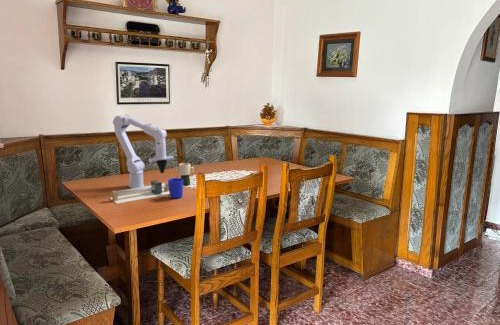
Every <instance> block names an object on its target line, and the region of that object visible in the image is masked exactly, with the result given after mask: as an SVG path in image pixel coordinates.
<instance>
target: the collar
mask: <svg viewBox="0 0 500 325" xmlns="http://www.w3.org/2000/svg"><path fill="white" fill-rule="evenodd" d="M162 184H163V182H160V181H159V180H157V179H155V180H151V181H150V186H151V185H155V190H151V191H152V192H154V193H156V194H160V193H162V189H163V188H162Z"/></svg>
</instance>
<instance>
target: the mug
mask: <svg viewBox="0 0 500 325" xmlns="http://www.w3.org/2000/svg"><path fill="white" fill-rule="evenodd" d="M167 182H168V185H169V193H170V194H169V196H170V198H171V199H176V200H177V199H180V198H182V197H183V193H184V185H183V179H181V177H174V178H173V177H172V178H169V179H168V180H167Z"/></svg>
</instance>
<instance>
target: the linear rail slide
mask: <svg viewBox="0 0 500 325" xmlns="http://www.w3.org/2000/svg"><path fill="white" fill-rule="evenodd" d="M144 186H145V187H138V188H127V189H121V190H111V197H109V199H110V200H111V201H112V202H114V203H115V204H116V205H118V204H124V203H129V202H135V201H141V200H145V199H151V198H156V197H157V198H158V197H162V196H168V195H169V196H170V193H169V185H168V181H167V182H162V193H160V194H156V193H154V192H152V191H151V190H155V185H151V184H150V185H144Z"/></svg>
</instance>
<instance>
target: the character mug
mask: <svg viewBox="0 0 500 325" xmlns="http://www.w3.org/2000/svg"><path fill="white" fill-rule="evenodd" d="M175 171H176V173H178V174H179V175H180V178H181V179H183V186H187V185H191V178H190V174H191V173H194V172H195V167H194V166H191V163H188V162H181V163H179V164H178V166H176V167H175Z"/></svg>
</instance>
